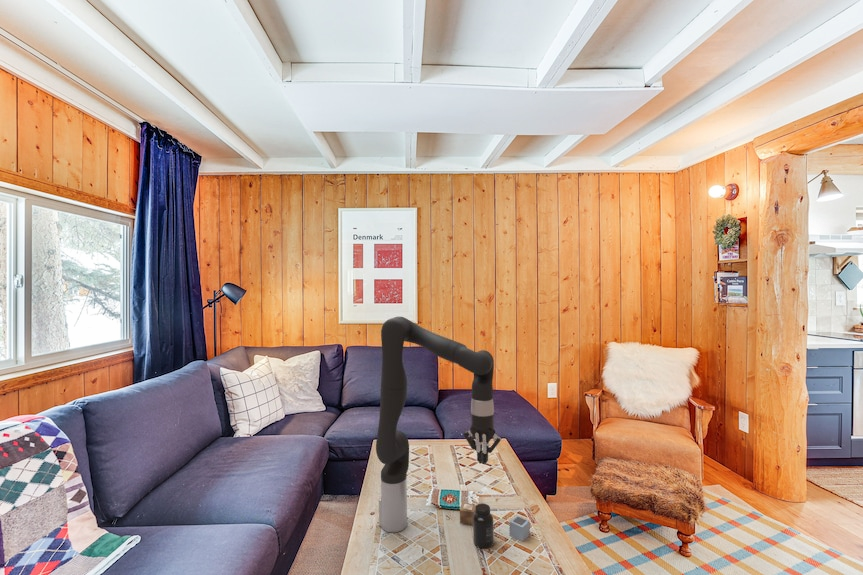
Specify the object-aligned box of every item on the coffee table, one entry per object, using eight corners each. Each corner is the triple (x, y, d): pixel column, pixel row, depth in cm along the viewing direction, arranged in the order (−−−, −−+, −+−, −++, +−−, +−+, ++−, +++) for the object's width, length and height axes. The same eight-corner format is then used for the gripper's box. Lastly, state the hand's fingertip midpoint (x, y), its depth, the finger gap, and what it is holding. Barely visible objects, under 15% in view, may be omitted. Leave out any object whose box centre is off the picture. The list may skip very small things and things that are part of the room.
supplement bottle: (491, 535, 137) (491, 501, 137) (495, 548, 130) (495, 512, 130) (471, 536, 137) (471, 501, 137) (474, 549, 130) (474, 513, 130)
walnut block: (460, 523, 144) (459, 509, 144) (462, 515, 149) (462, 501, 149) (473, 525, 143) (473, 511, 143) (476, 517, 148) (476, 503, 147)
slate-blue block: (509, 535, 137) (509, 520, 137) (516, 528, 141) (516, 514, 141) (522, 542, 134) (522, 526, 134) (529, 534, 137) (529, 519, 137)
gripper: (459, 412, 132) (459, 463, 133) (498, 418, 126) (498, 472, 127) (467, 405, 139) (468, 454, 139) (505, 410, 133) (505, 462, 133)
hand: (482, 462), depth 133 cm, fingers closed
